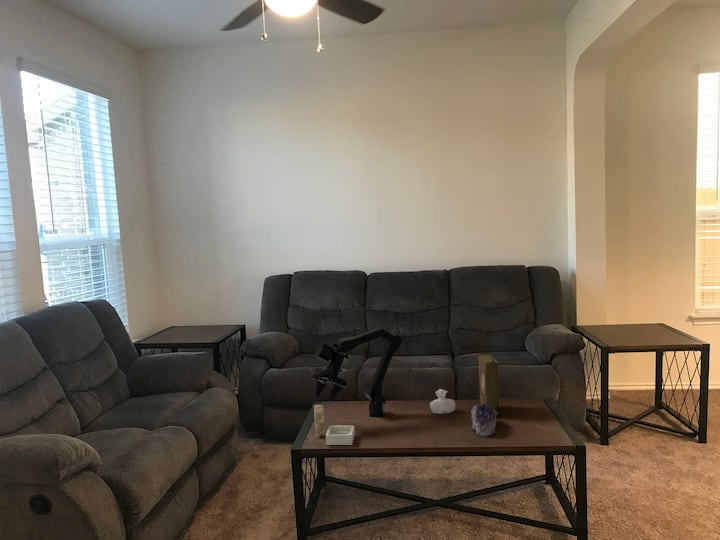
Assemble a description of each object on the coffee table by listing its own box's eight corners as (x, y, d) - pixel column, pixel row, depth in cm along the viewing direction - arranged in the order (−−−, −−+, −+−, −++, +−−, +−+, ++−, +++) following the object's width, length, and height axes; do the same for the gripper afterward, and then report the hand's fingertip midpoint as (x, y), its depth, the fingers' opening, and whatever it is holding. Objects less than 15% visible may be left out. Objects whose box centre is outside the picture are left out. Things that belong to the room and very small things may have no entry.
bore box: (354, 435, 228) (354, 425, 227) (352, 445, 217) (351, 435, 217) (330, 436, 229) (329, 425, 228) (326, 446, 218) (325, 435, 218)
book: (479, 405, 256) (477, 354, 254) (491, 405, 256) (489, 353, 254) (487, 418, 240) (485, 363, 238) (499, 417, 239) (497, 362, 238)
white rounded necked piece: (455, 415, 251) (450, 392, 258) (458, 409, 245) (453, 386, 251) (430, 417, 250) (426, 394, 257) (432, 412, 244) (428, 388, 250)
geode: (502, 438, 217) (498, 414, 216) (473, 441, 219) (469, 418, 218) (498, 418, 237) (494, 396, 236) (472, 421, 239) (468, 400, 238)
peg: (326, 434, 231) (324, 404, 230) (322, 437, 227) (321, 407, 226) (317, 433, 232) (316, 404, 231) (314, 437, 228) (312, 407, 227)
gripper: (309, 356, 243) (297, 389, 238) (335, 360, 229) (322, 395, 224) (327, 365, 249) (315, 398, 244) (353, 369, 235) (341, 404, 230)
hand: (323, 398), depth 235 cm, fingers open, 9 cm apart
